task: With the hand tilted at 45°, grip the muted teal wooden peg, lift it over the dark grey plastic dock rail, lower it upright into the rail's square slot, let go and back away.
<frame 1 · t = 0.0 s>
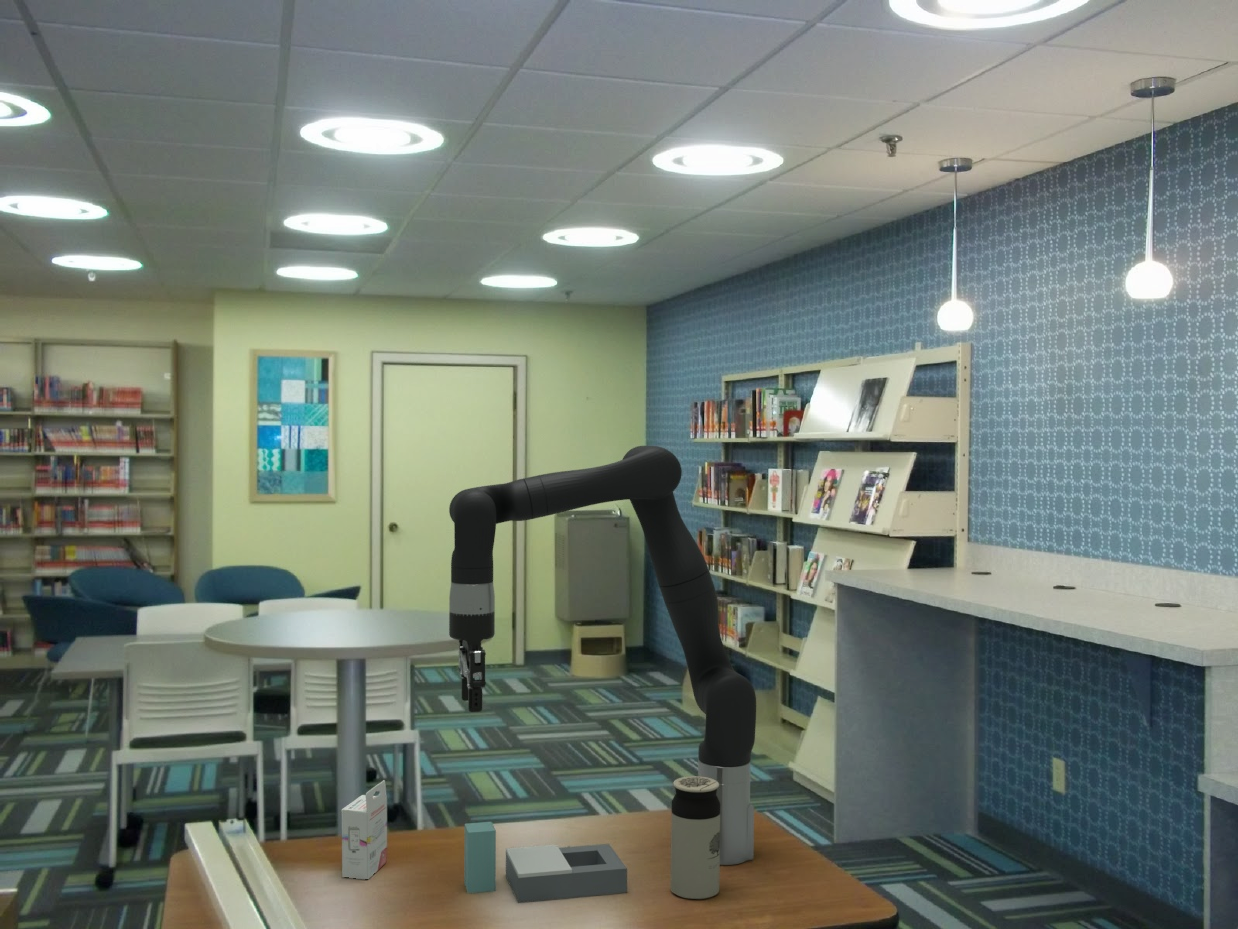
hand: (471, 705, 201), 29 cm above the table, tool pointing down, fingers open, 8 cm apart
ink cartridge box: (364, 871, 206), on the table
travel mug: (694, 892, 198), on the table
dock rail: (565, 884, 200), on the table
teal peg: (479, 887, 199), on the table
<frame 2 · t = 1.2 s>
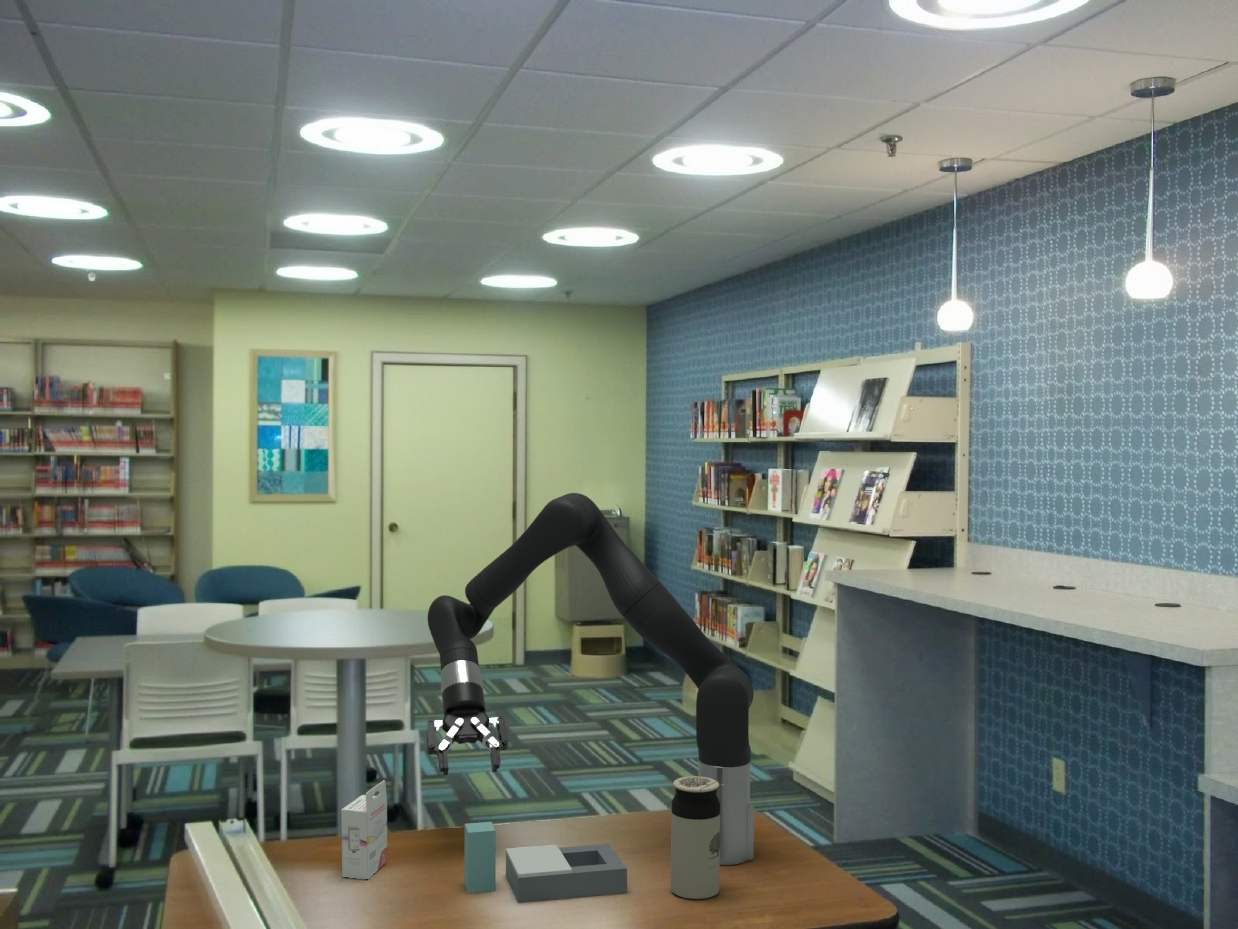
hand: (470, 771, 209), 16 cm above the table, tool tilted 45°, fingers open, 8 cm apart
nothing on the table moved.
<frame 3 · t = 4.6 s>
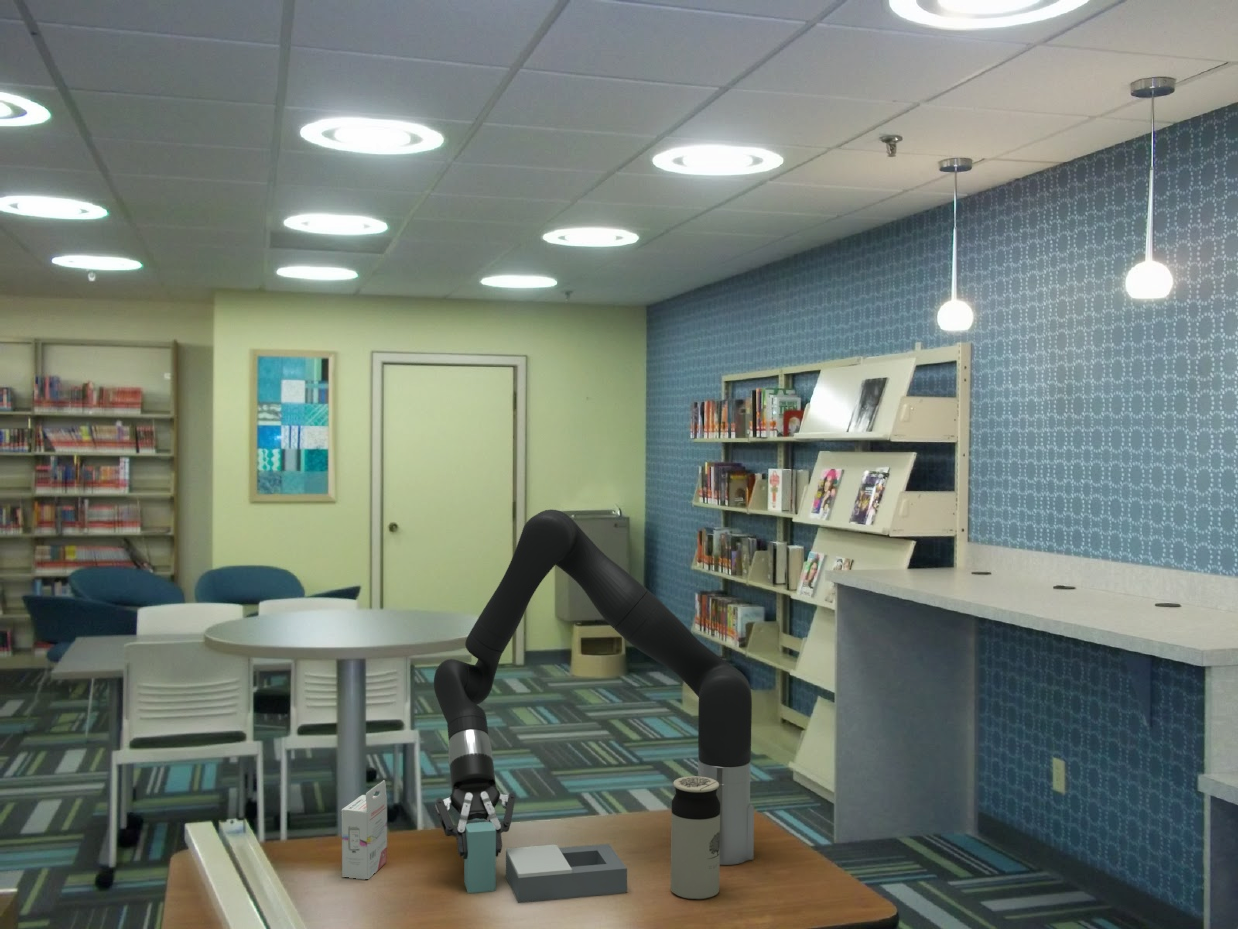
hand: (481, 855, 197), 6 cm above the table, tool tilted 45°, fingers closed on teal peg, 4 cm apart
teal peg: (479, 887, 199), on the table, touching gripper
everything else where it was.
when the fingers open (7 cm above the table, at t = 11.8 s): teal peg drops 1 cm, resting in dock rail.
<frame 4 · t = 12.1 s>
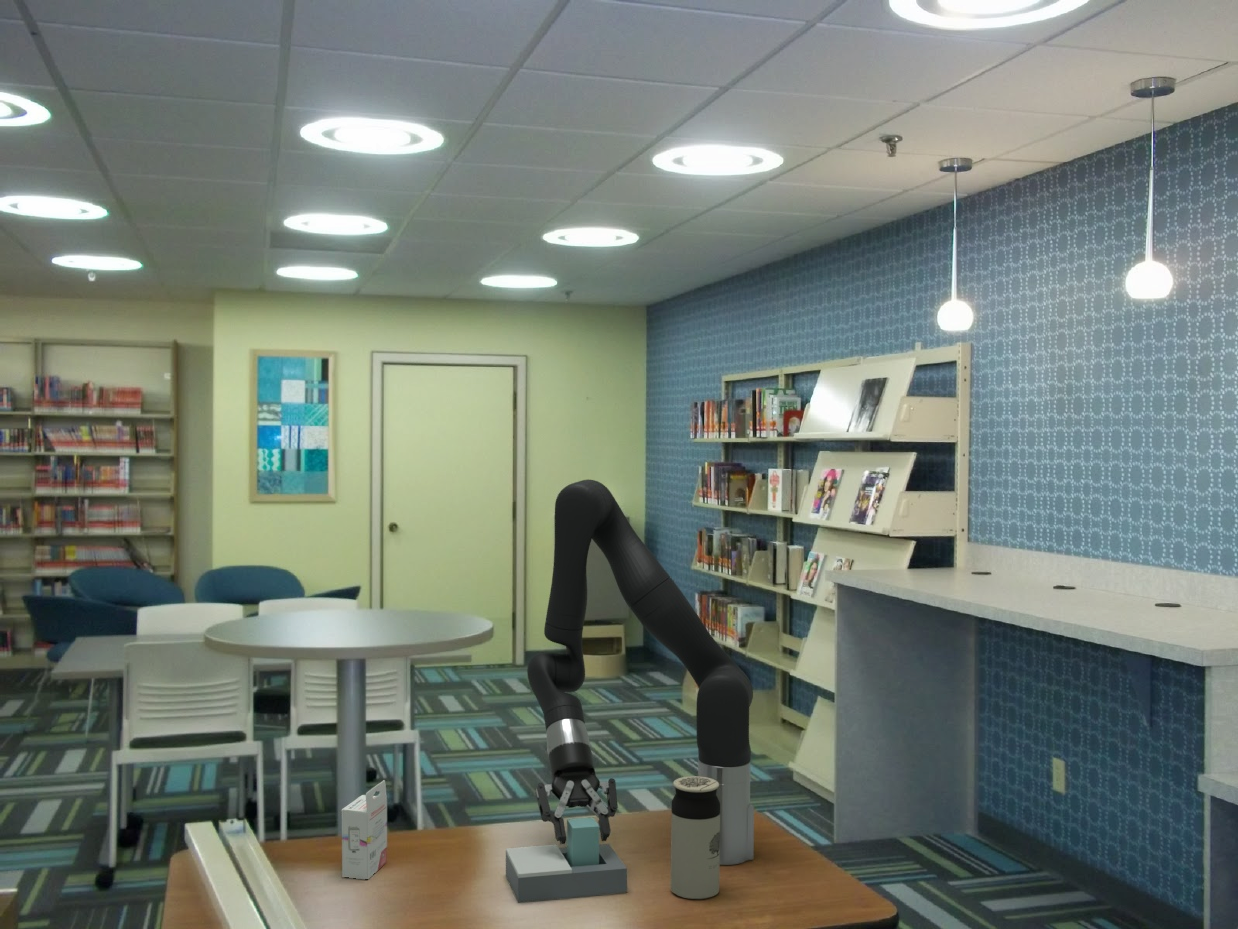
hand: (584, 840, 200), 7 cm above the table, tool tilted 45°, fingers open, 6 cm apart
teal peg: (582, 882, 201), resting in dock rail
everything else where it was.
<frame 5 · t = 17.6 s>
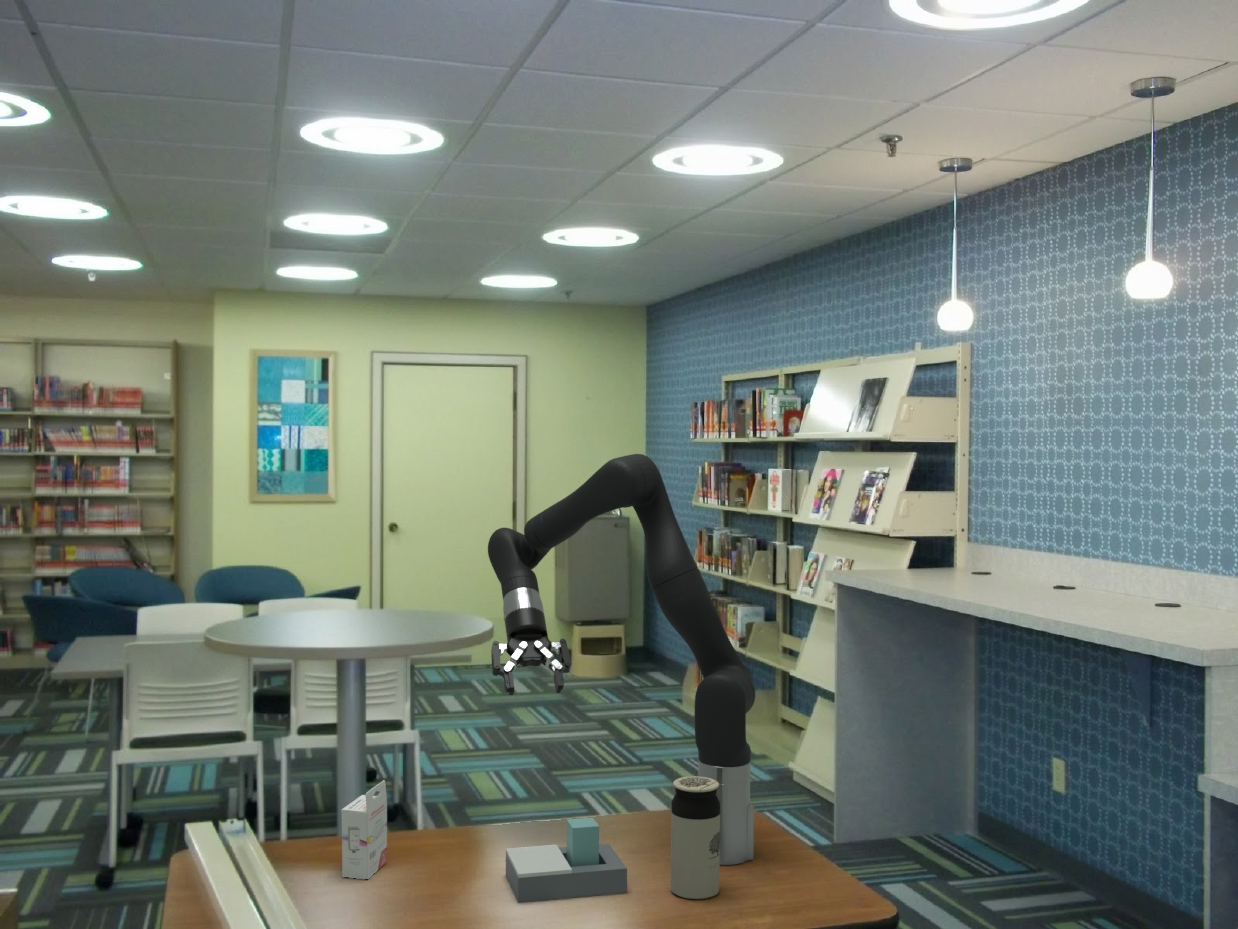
hand: (535, 691, 215), 29 cm above the table, tool tilted 45°, fingers open, 8 cm apart
nothing on the table moved.
at the end: teal peg 0.2 cm from the target spot on the dock rail, point 0.0 cm above the dock rail's base; teal peg tilted 0°; the gripper is holding nothing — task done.
